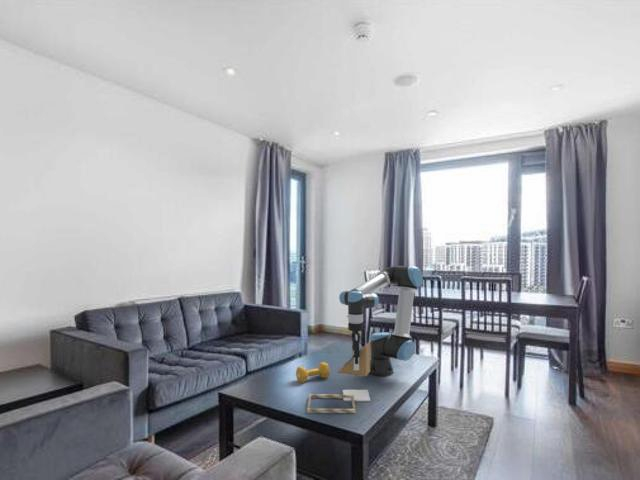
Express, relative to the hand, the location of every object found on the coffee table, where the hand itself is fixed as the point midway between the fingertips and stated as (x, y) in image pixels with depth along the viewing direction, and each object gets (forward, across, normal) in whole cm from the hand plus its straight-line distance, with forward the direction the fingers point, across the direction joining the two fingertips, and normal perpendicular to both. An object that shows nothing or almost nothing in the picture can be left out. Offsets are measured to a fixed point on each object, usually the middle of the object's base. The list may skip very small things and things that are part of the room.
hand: (355, 366), depth 183 cm
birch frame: (+15, +10, -12) cm, 22 cm away
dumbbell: (+15, -23, -23) cm, 36 cm away
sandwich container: (+3, 0, -1) cm, 3 cm away
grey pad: (+15, 0, 0) cm, 15 cm away
